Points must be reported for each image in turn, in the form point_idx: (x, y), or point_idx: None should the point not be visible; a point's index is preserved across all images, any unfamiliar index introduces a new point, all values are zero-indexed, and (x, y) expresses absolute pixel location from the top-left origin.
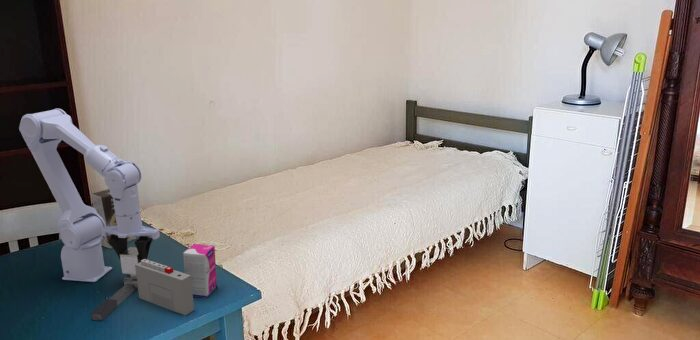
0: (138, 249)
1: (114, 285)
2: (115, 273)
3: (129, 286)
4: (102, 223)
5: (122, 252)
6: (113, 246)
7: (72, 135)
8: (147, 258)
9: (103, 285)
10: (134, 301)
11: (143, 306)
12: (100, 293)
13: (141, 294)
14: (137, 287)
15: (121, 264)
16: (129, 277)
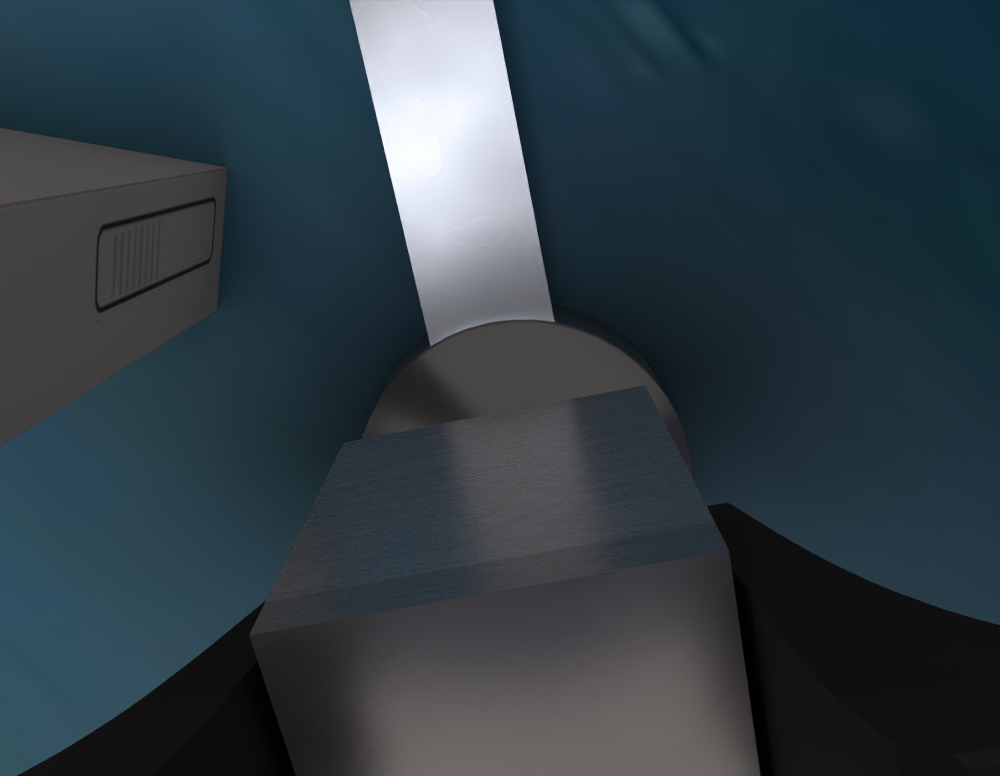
0: (130, 772)
1: (785, 328)
2: (987, 580)
3: (447, 267)
4: None
5: (756, 670)
6: (997, 654)
7: None
8: None
9: (933, 278)
10: (218, 71)
11: (5, 4)
12: (822, 83)
13: (144, 161)
14: (412, 351)
15: (666, 444)
16: None
